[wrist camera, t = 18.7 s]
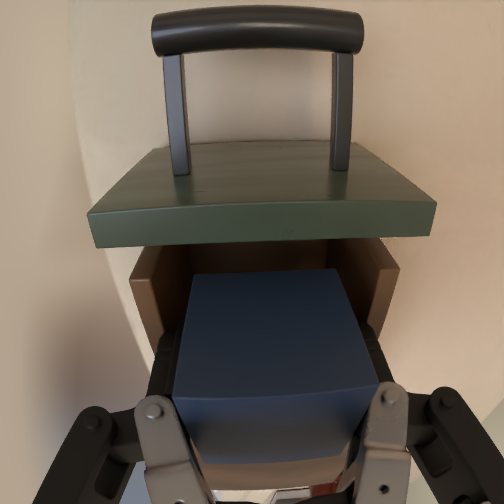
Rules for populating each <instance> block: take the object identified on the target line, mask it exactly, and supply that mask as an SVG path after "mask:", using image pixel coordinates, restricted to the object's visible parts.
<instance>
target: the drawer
mask: <svg viewBox="0 0 504 504" xmlns="http://www.w3.org/2000/svg"><path fill="white" fill-rule="evenodd" d="M151 36H152V44H153V48H154V51H155V53H156V55H157V56H158V57H163V73H164V88H165V101H166V113H167V124H168V134H169V144H170V147H164V148H155V149H153V150H151V151H150V152H149V153H148V154H147V155H146V156H145V157H144V158H143V159H141V160H140V161H139V162H138V163H137V164H136V165H135V166H134V167H133V168H132V169H131V170H130V171H129V172H127V173H126V174H125V175H124V176H123V177H122V178H121V179H120V180H119V181H118V182H117V183H116V184H115V185H114V186H113V187H112V188H111V189H110V190H109V191H108V192H107V193H106V194H105V195H104V196H103V197H102V198H101V199H100V200H99V201H98V202H97V203H96V204H95V205H94V206H93V208H92V209H91V210H90V211H89V212H88V213H87V218H88V221H89V225H90V228H91V232H92V235H93V239H94V243H95V246H96V248H115V247H136V246H144V248H143V250H142V252H141V254H140V257H139V259H138V261H137V263H136V265H135V267H134V269H133V271H132V273H131V276H130V278H129V283H130V286H131V289H132V292H133V295H134V299H135V302H136V305H137V308H138V311H139V314H140V317H141V320H142V323H143V325H144V328H145V331H146V334H147V337H148V339H149V342H150V345H151V347H152V350H153V353H154V355H155V354H156V352H157V346H158V342H159V338H160V337H161V336H162V334H163V333H164V332H165V331H166V329H176V328H177V324H178V319H179V316H180V315H186V313H187V308H188V302H189V297H190V292H191V287H192V282H193V277H194V275H195V274H217V273H246V272H271V271H294V270H316V269H336V271H337V273H338V275H339V278H340V280H341V283H342V285H343V287H344V290H345V292H346V295H347V297H348V300H349V302H350V305H351V307H352V310H353V312H354V315H355V317H356V320H365V321H366V322H367V323H368V324H369V325H370V326H371V327H372V328H373V330H374V332H375V334H376V337H377V341H378V338H379V335H380V332H381V330H382V327H383V324H384V321H385V318H386V315H387V312H388V308H389V305H390V302H391V299H392V296H393V292H394V289H395V285H396V282H397V278H398V275H399V271H400V267H399V266H398V264H397V263H396V261H395V260H394V259H393V257H392V256H391V254H390V253H389V251H388V250H387V248H386V247H385V246H384V244H383V243H382V241H381V240H380V239H379V237H415V236H429V235H430V231H431V227H432V223H433V219H434V215H435V210H436V206H437V202H436V201H435V200H433V199H432V198H431V197H430V196H428V195H427V194H426V193H425V192H424V191H422V190H421V189H420V188H418V187H417V186H416V185H415V184H413V183H412V182H411V181H409V180H408V179H407V178H406V177H404V176H403V175H402V174H400V173H399V172H398V171H396V170H395V169H393V168H392V167H391V166H389V165H388V164H387V163H385V162H384V161H382V160H381V159H380V158H378V157H377V156H375V155H374V154H372V153H371V152H369V151H368V150H366V149H365V148H363V147H362V146H361V145H359V144H357V143H351V126H352V104H353V55H356V54H358V53H359V52H360V50H361V48H362V45H363V41H364V24H363V20H362V18H361V16H360V15H359V14H358V13H356V12H349V11H342V10H335V9H326V8H316V7H304V6H286V5H238V6H220V7H207V8H197V9H189V10H181V11H174V12H168V13H162V14H157V15H155V16H154V17H153V20H152V26H151ZM248 49H286V50H309V51H323V52H334V53H332V108H331V137H330V142H326V141H254V142H229V143H212V144H198V145H190V140H189V128H188V115H187V102H186V87H185V70H184V56H183V55H182V54H190V53H200V52H211V51H225V50H248Z"/></svg>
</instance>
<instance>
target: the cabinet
mask: <svg viewBox="0 0 504 504" xmlns="http://www.w3.org/2000/svg"><path fill="white" fill-rule="evenodd" d="M190 440H191V443H192V446H193V449H194V451H195V454H196V457H197V459H198V462H199V465H200V467H201V470H202V473H203V475H204V478H205V480H206V482H207V485H208V487H209V489H210V490H265V489H281V488H293V487H302V486H311V485H318V484H325V483H332V482H334V481H335V479H336V478H337V477H338V476H339V474H340V473H341V472H342V470H343V469H344V466H345V462H346V457H347V452H348V448H349V443H350V440H349V442H348V444H347V445H346V447H345V448H344V450H343V452H342V453H341V455H338V456H332V457H325V458H317V459H309V460H300V461H290V462H277V463H259V464H205V463H203V461H202V459H201V457H200V455H199V453H198V451H197V449H196V447H195V445H194V443H193V441H192V439H191V437H190Z"/></svg>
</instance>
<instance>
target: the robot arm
mask: <svg viewBox="0 0 504 504" xmlns="http://www.w3.org/2000/svg"><path fill="white" fill-rule="evenodd" d="M353 313H354V312H353ZM185 318H186V315H180V316H179V319H178V324H177V328H176V329H166V331H165V332H164V333H163V334H162V336H161V337H160V338H159V342H158V346H157V352H156V354H155V361H154V363H153V367H152V372H151V376H150V381H149V385H148V390H147V394H146V396H145V398H144V399H142V400H141V401H140V402H139V403H138V404H137V406H136V407H134V408H132V409H129V410H125V411H120V412H114V413H109V412H108V411H107V410H106V409H104V408H102V407H99V406H92V407H88V408H86V409H84V410H83V411H82V412H81V413H80V414H79V416H78V417H77V419H76V420H75V422H74V424H73V426H72V428H71V429H70V432H69V433H68V435H67V437H66V438H65V440H64V442H63V444H62V446H61V448H60V450H59V451H58V453H57V455H56V457H55V459H54V461H53V463H52V465H51V467H50V469H49V471H48V473H47V474H46V477H45V479H44V480H43V483H42V484H41V487H40V489H39V491H38V493H37V495H36V497H35V499H34V501H33V503H32V504H119V502H120V500H121V497H122V495H123V492H124V490H125V488H126V486H127V483H128V481H129V478H130V476H131V474H132V471H133V469H134V467H135V464H136V462H139V461H145V465H146V470H145V471H144V478H145V482H146V486H147V489H148V493H149V496H150V499H151V503H152V504H259V503H253V502H222V501H215V500H214V498H213V495H212V493H211V491H210V489H209V487H208V485H207V482H206V480H205V478H204V475H203V473H202V470H201V467H200V465H199V462H198V459H197V457H196V454H195V451H194V449H193V446H192V443H191V440H190V435H189V433H188V431H187V429H186V427H185V425H184V423H183V421H182V418H181V416H180V414H179V412H178V410H177V408H176V405H175V403H174V401H173V398H172V394H173V388H174V381H175V375H176V369H177V363H178V357H179V351H180V346H181V340H182V334H183V329H184V323H185ZM355 318H356V317H355ZM357 323H358V326H359V328H360V331H361V334H362V336H363V339H364V342H365V344H366V347H367V350H368V353H369V355H370V358H371V361H372V364H373V367H374V369H375V372H376V375H377V378H378V381H379V387H378V389H377V391H376V393H375V395H374V397H373V399H372V401H371V403H370V405H369V407H368V409H367V410H366V412H365V414H364V416H363V418H362V420H361V421H360V423H359V425H358V427H357V428H356V430H355V432H354V434H353V435H352V437H351V439H350V443H349V448H348V452H347V457H346V462H345V466H344V470H343V473H342V476H341V478H340V480H339V483H338V486H337V490H336V493H332V494H326V495H320V496H314V497H312V498H309V499H306V500H303V501H300V502H297V503H294V504H406V498H407V490H408V484H409V476H410V467H411V456H412V457H413V459H414V461H415V463H416V464H417V466H418V468H419V469H420V471H421V473H422V475H423V476H424V478H425V480H426V482H427V483H428V485H429V487H430V489H431V491H432V492H433V494H434V496H435V498H436V499H437V501H438V503H439V504H504V458H503V456H502V455H501V453H500V452H499V450H498V449H497V447H496V446H495V444H494V443H493V441H492V440H491V438H490V437H489V435H488V434H487V432H486V431H485V430H484V428H483V427H482V425H481V424H480V422H479V421H478V419H477V418H476V416H475V415H474V414H473V412H472V411H471V409H470V408H469V407H468V405H467V404H466V402H465V401H464V400H463V398H462V397H461V396H460V394H459V393H458V392H457V391H456V390H454V389H453V388H450V387H439V388H437V389H436V390H434V391H433V393H432V394H431V395H427V394H415V393H409V392H406V390H405V389H404V388H403V387H402V386H401V385H399V384H397V383H395V381H394V379H393V377H392V374H391V372H390V369H389V367H388V364H387V361H386V359H385V356H384V354H383V351H382V349H381V347H380V344H379V342H378V341H377V337H376V334H375V332H374V330H373V328H372V327H371V326H370V325H369V324H368V323H367V322H366V321H365V320H357ZM406 447H407V449H408V450H409V451H407V450H406Z"/></svg>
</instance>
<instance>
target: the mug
mask: <svg viewBox="0 0 504 504" xmlns="http://www.w3.org/2000/svg"><path fill="white" fill-rule="evenodd" d="M343 470H344V469H343ZM343 470H342V472H341V473H340V474H339V476H338V477H337V478H336V479H335V481H334V482H332V483H325V484H318V485H311V486H309V492H310V498H312V497H314V496H320V495H326V494H332V493H336V490H337V486H338V483H339V480H340V478H341V476H342V473H343Z"/></svg>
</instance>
